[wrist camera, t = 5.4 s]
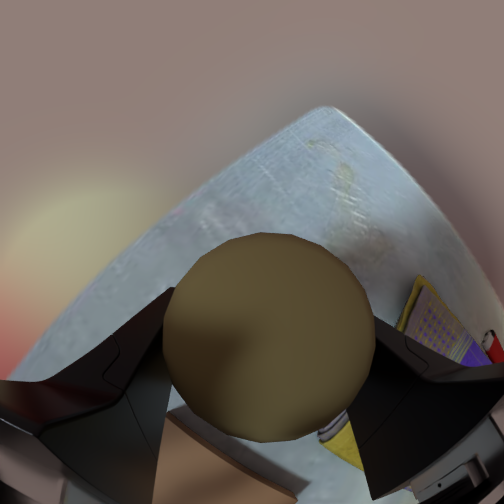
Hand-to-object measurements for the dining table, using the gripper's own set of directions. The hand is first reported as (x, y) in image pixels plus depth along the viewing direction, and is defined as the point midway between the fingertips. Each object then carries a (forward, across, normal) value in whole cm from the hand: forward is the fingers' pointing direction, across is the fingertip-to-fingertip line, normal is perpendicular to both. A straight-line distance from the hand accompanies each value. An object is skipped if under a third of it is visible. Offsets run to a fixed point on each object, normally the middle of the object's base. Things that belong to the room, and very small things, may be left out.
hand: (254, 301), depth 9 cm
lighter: (+3, -32, +12) cm, 34 cm away
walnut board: (-3, +4, +18) cm, 19 cm away
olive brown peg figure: (+4, 0, +6) cm, 7 cm away
